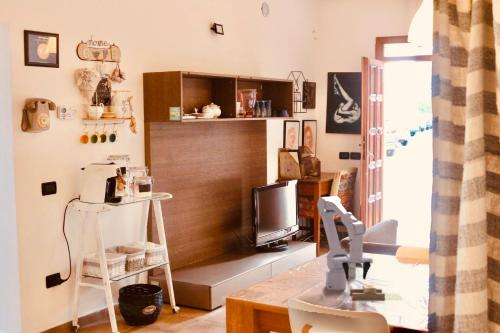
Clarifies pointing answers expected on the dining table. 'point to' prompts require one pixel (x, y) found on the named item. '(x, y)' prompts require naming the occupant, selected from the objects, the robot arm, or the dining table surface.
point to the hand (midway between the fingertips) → (355, 279)
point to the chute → (373, 295)
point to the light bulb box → (352, 269)
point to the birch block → (369, 289)
